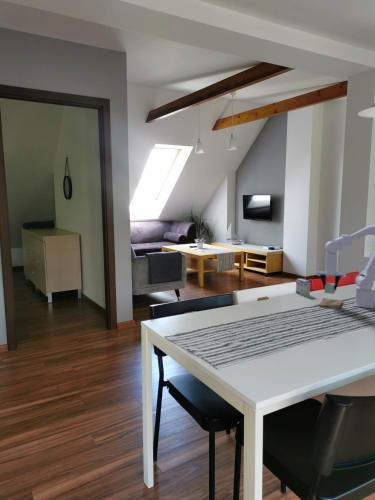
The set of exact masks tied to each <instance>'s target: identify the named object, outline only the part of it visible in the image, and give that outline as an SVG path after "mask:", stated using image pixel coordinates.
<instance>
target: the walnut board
mask: <svg viewBox="0 0 375 500" xmlns="http://www.w3.org/2000/svg"><path fill="white" fill-rule="evenodd" d="M343 302H344V301H343V300H342V299H334V298H333V299H332V298H322V299H321V301H320V303H319V305H318V306H319V307H321V308H330V309H338V310H340V309H341V306H342V305H343Z"/></svg>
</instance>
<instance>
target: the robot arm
mask: <svg viewBox="0 0 375 500" xmlns="http://www.w3.org/2000/svg"><path fill="white" fill-rule="evenodd" d="M369 235H370V236H375V223H373V224H369V225H367V226H366V227H363V228H361V229H359V230H357V231H356V232H354V233H352V234H347V233H345V234H344V233H343V234H341V236H339V237H338V238H334V239H332V241H331V240H329V241H327V242H326V243H325V245H324V249H325V262H324V263H325V264H324V265H325V266H324V267H325V268H324V271H323V270H321V271H320V270H316V272H315V276H319V277H320V280H321V283H322V285H323V289H324V290H325V284H326V283H327V276H329V277H334V284H335V288H334V290H335V291H337V288H338V285H339V281H340V280H341V279H342V278H346V275H347V273H346V272H338V269H337V268H338V252H339V250H342V249H344V248H346V247H349V246H351V245H352V244H353V242H354V241H357V240H358V239H360V238H364V237H366V236H369ZM374 280H375V249H374V250H373V253H372V254H371V256H370V258H369V260H368V262H367V264H366V265H365V268H364V269H363V270H362V271H360V273H359V274H358V275H357V276H355V278H354V283H355V285H356V286H355V299H354V303H353V306H354V307H359V308H367V309H374V308H375V290H374V289H372V288H373V286H374Z"/></svg>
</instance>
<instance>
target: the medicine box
mask: <svg viewBox="0 0 375 500" xmlns="http://www.w3.org/2000/svg"><path fill="white" fill-rule="evenodd" d="M310 292H311V281H310V280H307V279H304V278H296V284H295V293H296V294H297V295H300V294H301V295H300V296H302V295H303V297H307V296H310V295H311V293H310Z"/></svg>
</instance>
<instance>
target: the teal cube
mask: <svg viewBox="0 0 375 500" xmlns="http://www.w3.org/2000/svg"><path fill="white" fill-rule="evenodd" d="M334 288H335V283H331V282H326V284H325V289H324V293H325V294H332V295H334V294H335V293H336V290H334Z"/></svg>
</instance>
